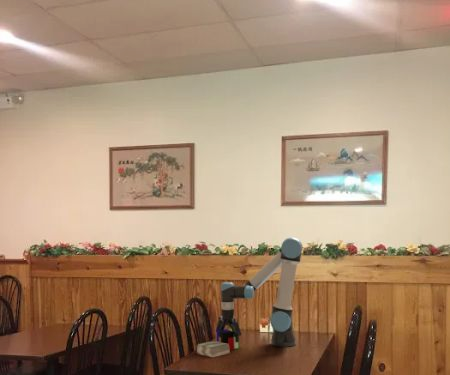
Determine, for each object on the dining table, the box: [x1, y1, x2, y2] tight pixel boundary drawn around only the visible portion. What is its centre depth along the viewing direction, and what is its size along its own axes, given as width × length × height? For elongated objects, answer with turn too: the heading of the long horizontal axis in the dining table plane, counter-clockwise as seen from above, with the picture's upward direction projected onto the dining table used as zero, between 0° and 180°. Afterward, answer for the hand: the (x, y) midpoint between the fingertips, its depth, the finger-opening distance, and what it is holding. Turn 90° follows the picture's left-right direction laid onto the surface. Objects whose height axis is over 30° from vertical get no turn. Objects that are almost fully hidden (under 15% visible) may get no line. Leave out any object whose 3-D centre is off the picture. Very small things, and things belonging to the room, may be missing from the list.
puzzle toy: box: [216, 328, 240, 351], centre depth 278 cm, size 10×10×10 cm
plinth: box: [196, 340, 231, 358], centre depth 266 cm, size 13×13×5 cm
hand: (228, 346), depth 278 cm, fingers closed on puzzle toy, 12 cm apart
